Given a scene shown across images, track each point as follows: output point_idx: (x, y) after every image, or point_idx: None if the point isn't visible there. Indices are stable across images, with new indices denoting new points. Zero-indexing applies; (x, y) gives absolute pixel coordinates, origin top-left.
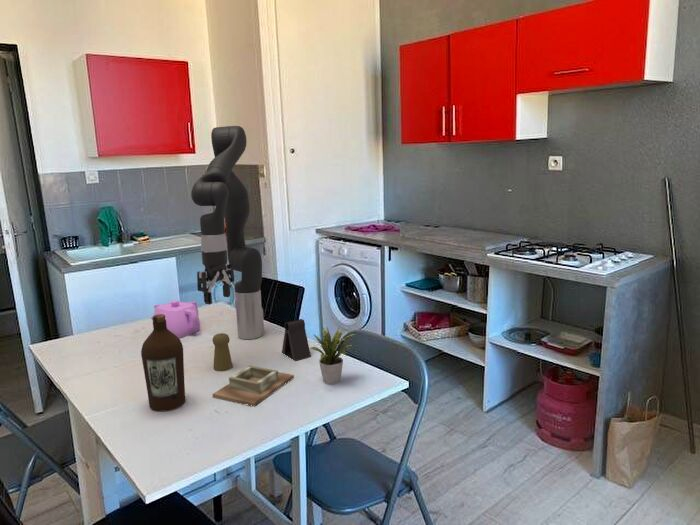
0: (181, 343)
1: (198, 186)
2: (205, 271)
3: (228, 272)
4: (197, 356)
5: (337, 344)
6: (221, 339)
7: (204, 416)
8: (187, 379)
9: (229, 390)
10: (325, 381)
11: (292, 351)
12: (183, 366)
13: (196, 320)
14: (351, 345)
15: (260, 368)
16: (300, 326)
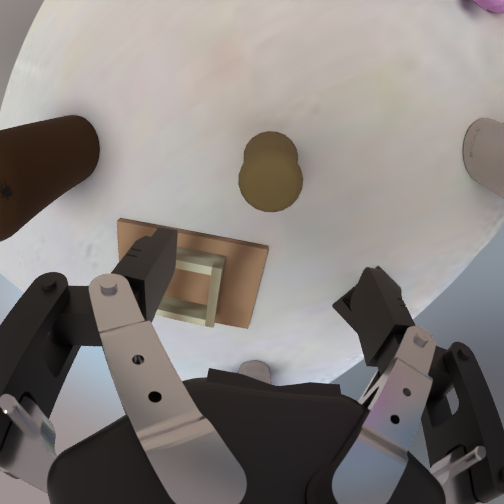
0: (5, 236)
1: None
2: (36, 487)
3: (448, 439)
4: (333, 48)
5: None
6: (245, 198)
7: (70, 239)
8: (175, 106)
9: None
10: (241, 366)
11: (343, 312)
12: (41, 210)
13: (490, 5)
14: None
15: (212, 295)
16: None
